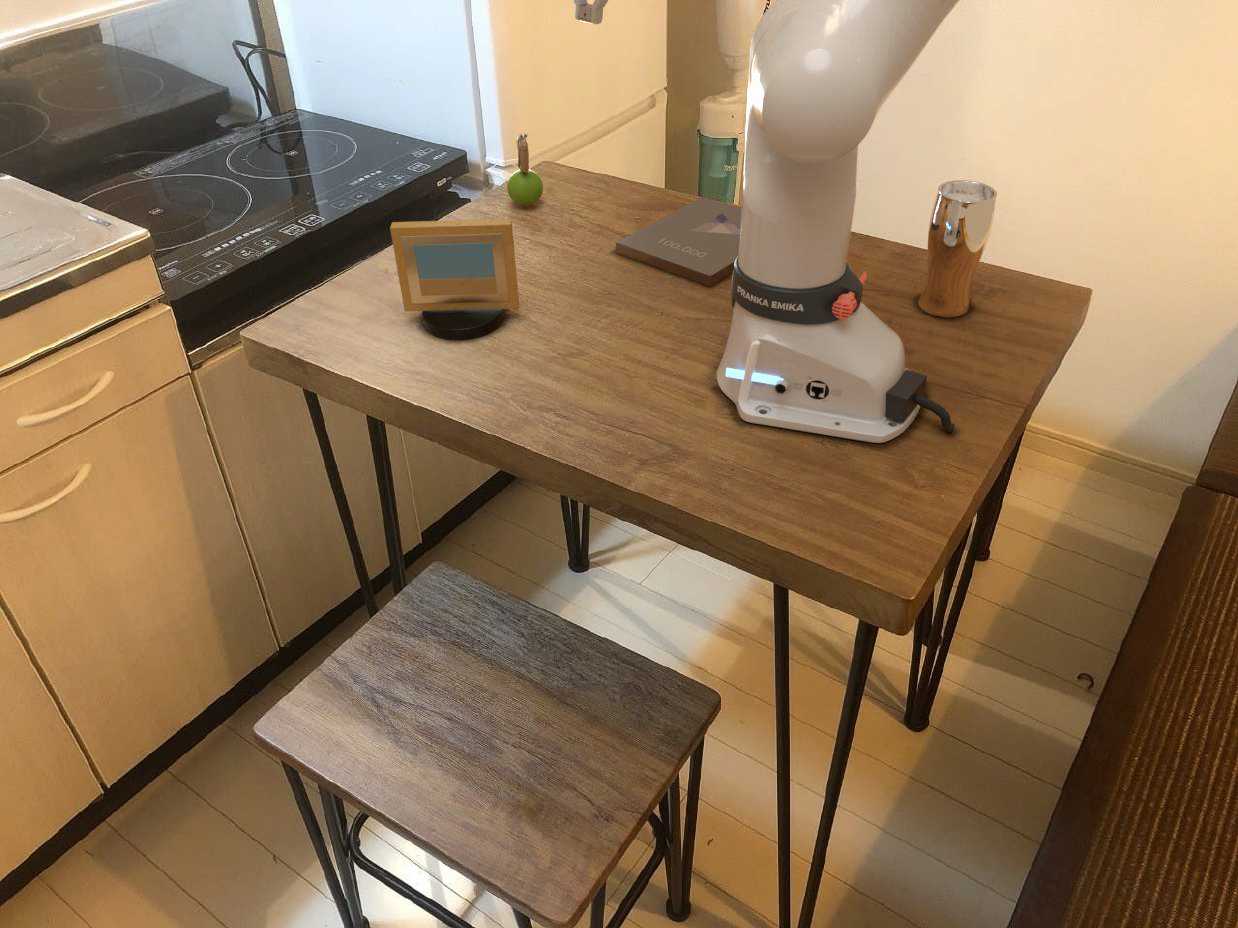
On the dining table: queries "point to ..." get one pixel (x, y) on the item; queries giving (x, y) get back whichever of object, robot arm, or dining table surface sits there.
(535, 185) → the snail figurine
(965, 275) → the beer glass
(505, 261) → the picture frame
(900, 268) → the dining table surface
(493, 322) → the frame stand
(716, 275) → the play button award
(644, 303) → the dining table surface
